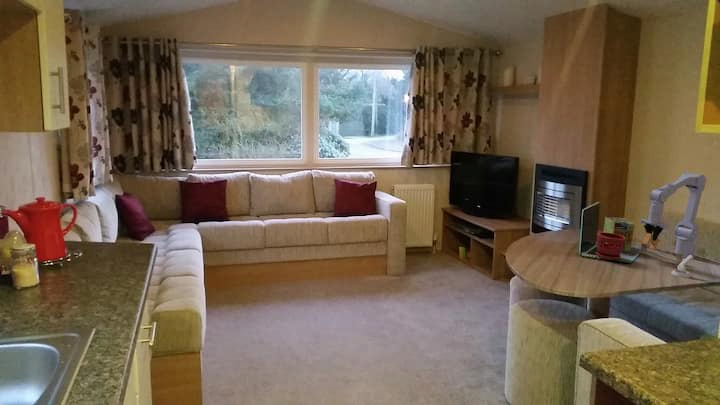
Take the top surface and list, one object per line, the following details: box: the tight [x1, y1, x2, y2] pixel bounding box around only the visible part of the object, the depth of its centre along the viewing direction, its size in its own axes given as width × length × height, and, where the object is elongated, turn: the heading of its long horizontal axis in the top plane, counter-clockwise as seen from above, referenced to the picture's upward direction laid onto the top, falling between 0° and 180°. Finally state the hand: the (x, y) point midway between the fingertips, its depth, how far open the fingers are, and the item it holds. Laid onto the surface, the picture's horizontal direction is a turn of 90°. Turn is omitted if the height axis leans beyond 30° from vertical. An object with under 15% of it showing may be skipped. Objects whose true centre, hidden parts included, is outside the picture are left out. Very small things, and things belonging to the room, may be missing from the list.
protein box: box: [603, 216, 635, 252], centre depth 293 cm, size 10×15×16 cm
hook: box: [671, 255, 694, 278], centre depth 249 cm, size 8×12×7 cm
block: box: [641, 233, 661, 251], centre depth 272 cm, size 8×3×6 cm, turn 116°
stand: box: [638, 242, 684, 266], centre depth 277 cm, size 6×22×5 cm, turn 23°
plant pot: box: [595, 231, 626, 261], centre depth 272 cm, size 13×13×12 cm
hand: (651, 239), depth 272 cm, fingers closed on block, 3 cm apart
